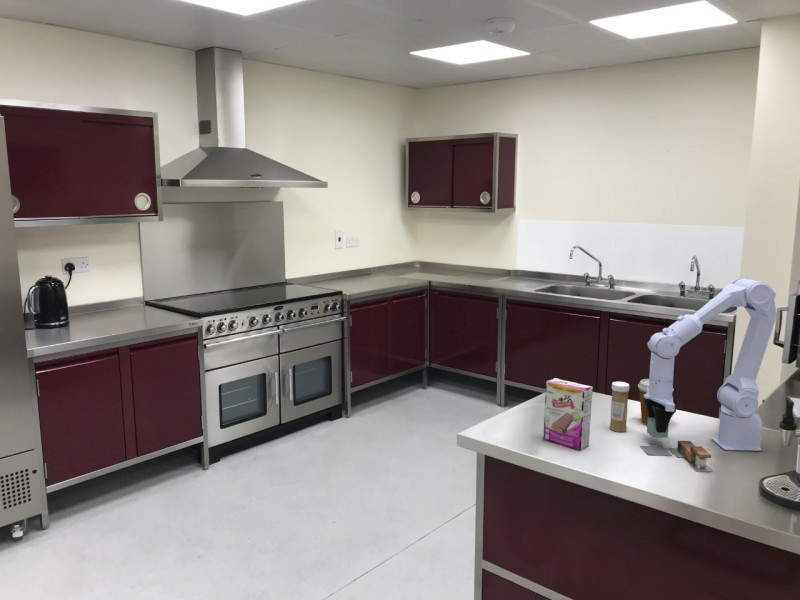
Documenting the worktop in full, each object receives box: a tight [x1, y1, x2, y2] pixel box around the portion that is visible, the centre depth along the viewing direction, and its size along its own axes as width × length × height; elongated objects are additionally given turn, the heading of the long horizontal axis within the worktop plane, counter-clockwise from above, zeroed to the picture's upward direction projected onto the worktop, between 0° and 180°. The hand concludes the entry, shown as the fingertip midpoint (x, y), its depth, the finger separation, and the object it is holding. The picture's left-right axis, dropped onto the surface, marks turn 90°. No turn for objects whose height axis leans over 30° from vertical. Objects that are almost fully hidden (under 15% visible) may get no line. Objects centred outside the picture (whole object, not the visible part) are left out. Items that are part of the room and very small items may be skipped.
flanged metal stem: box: [688, 455, 714, 473], centre depth 149 cm, size 4×4×3 cm
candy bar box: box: [542, 377, 593, 452], centre depth 163 cm, size 11×5×16 cm, turn 47°
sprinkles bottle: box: [609, 381, 630, 433], centre depth 173 cm, size 5×5×14 cm
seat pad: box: [639, 445, 673, 457], centre depth 159 cm, size 6×6×1 cm
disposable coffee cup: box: [637, 378, 675, 426], centre depth 179 cm, size 10×10×12 cm
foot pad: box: [668, 447, 686, 459], centre depth 158 cm, size 6×6×1 cm
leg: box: [676, 440, 712, 463], centre depth 153 cm, size 12×3×4 cm, turn 178°
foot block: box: [646, 418, 670, 439], centre depth 164 cm, size 4×4×4 cm
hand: (657, 428), depth 164 cm, fingers closed on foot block, 4 cm apart
